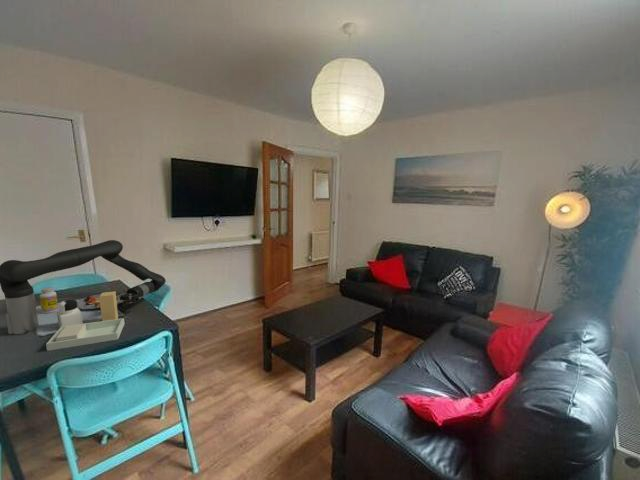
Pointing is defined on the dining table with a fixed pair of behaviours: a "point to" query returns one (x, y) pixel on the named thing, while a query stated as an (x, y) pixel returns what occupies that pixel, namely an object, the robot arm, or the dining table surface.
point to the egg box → (72, 332)
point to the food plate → (92, 301)
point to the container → (69, 313)
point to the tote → (90, 334)
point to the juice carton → (108, 306)
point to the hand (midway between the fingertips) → (115, 303)
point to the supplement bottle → (48, 300)
